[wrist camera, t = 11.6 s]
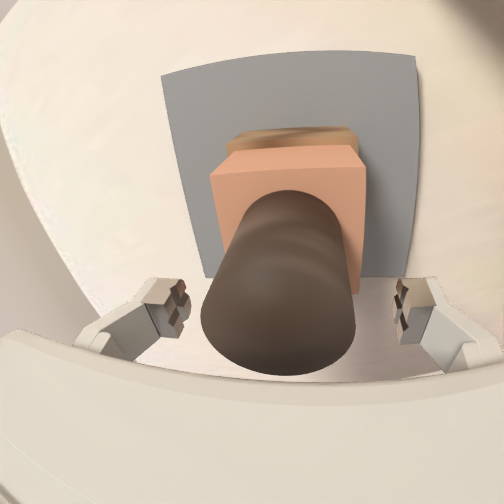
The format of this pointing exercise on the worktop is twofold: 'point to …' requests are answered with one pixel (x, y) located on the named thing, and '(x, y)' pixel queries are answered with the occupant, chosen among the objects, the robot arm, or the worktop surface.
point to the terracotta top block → (300, 179)
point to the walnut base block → (293, 138)
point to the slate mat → (304, 115)
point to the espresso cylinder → (282, 289)
